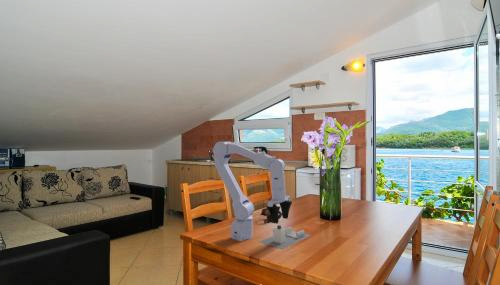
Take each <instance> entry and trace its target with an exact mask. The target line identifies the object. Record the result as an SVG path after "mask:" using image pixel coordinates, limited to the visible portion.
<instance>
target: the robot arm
mask: <svg viewBox="0 0 500 285" xmlns="http://www.w3.org/2000/svg"><path fill="white" fill-rule="evenodd" d="M212 153H213V159H214V160H213V161H214V167H215V169H216V171H217V173H218V174H219V177H220V179H221V180H222V182H223V185H224V186H225V188H226V191H228V194H229V196H230V198H231V200H232V209H233V214H234V216H235V218H236V219H235V220H234V221H232V223H231V224H230V239H232V240H235V241H238V242H243V241H247V240H250V239H252V238H254V236H253V235H254V233H253V232H254V226H253V224H254V222H253V221H254V218H253V214H254V212H255V204H254V203H252V201H250V199H249V198H248V197H247V196H246V195H245V194H244V192H243V191H242V189H241V187H240V185H239V183H238V182H237V180H236V178H235V176H234V174H233V172H232V170H231V169H230V166H229V164H228V163H229V160H230V158H231V157H232V155H233V154H238V155H240V156H242V157H245V158H248V159H250V160H252V161H253V163H254V164H255V165H257V166H259V167H261V168H263V169H266V170H268V171H269V172H270V181H271V182H270V183H271V184H270V185H271V199H270V200H268V201H266V202H267V205H266V208H267V209H268V211H269V212H270V215H271V217H272V221H273V223H272V224H278V223H279V221H280V219H279V211H280V212H281V213H282V216H281V218H282V219H288V218H289V214H290V209H291V206H292V204H293V201H292V200H291V195H287V194H286V191H287V190H286V177H285V171H284V170H285V169H286V163H285V162H284V160H283V159H281V158H276V156H272V155H269V154H267V153H266V151H258V152H255V151H253V150H251V149H249V148H247V147H244V146H243V145H240V144H238V143H237V142H232V141H230V140H229V141H227V140H226V141H217V142H216V143H215V144H214V146H213V149H212ZM278 204H279V206H278Z"/></svg>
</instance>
